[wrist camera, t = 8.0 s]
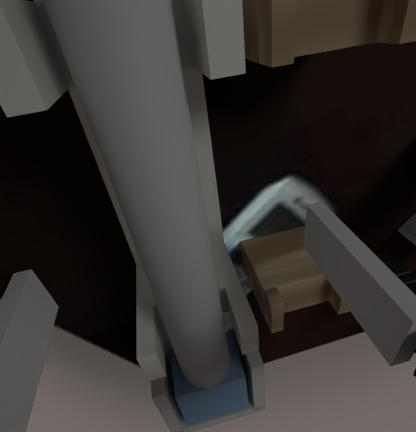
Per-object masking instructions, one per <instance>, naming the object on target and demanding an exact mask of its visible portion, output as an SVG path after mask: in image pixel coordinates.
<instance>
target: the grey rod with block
mask: <svg viewBox="0 0 416 432" xmlns="http://www.w3.org/2000/svg"><path fill="white" fill-rule="evenodd" d="M43 1H44V4H45V6H46V9H47V12H48V14H49V17H50V20H51V22H52V25H53V28H54V31H55V33H56V36H57V39H58V41H59V44H60V47H61V49H62V52H63V55H64V57H65V60H66V63H67V65H68V68H69V71H70V73H71V76H72V79H73V81H74V84H75V87H76V89H77V92H78V95H79V97H80V100H81V103H82V106H83V108H84V111H85V114H86V116H87V119H88V122H89V124H90V127H91V130H92V132H93V135H94V138H95V140H96V143H97V146H98V148H99V151H100V154H101V156H102V159H103V162H104V164H105V167H106V170H107V173H108V175H109V178H110V181H111V183H112V186H113V189H114V191H115V194H116V197H117V199H118V202H119V205H120V207H121V210H122V213H123V215H124V218H125V221H126V223H127V226H128V229H129V231H130V234H131V237H132V240H133V242H134V245H135V248H136V250H137V253H138V256H139V258H140V261H141V264H142V266H143V269H144V272H145V274H146V277H147V280H148V282H149V285H150V288H151V290H152V293H153V296H154V298H155V301H156V304H157V306H158V309H159V312H160V315H161V317H162V320H163V323H164V325H165V328H166V331H167V333H168V336H169V339H170V341H171V344H172V347H173V348H170V355H171V364H172V373H173V383H174V392H175V399H176V401H177V403H178V406H179V408H180V410H181V412H182V414H183V417H184V419H185V421H186V423H187V426H189V425H192V424H196V423H199V422H202V421H206V420H209V419H212V418H216V417H219V416H222V415H225V414H229V413H232V412H235V411H239V410H242V409H245V408H249V404H248V394H247V385H246V377H245V374H244V371H243V367H242V364H241V361H240V358H239V355H238V351H237V348H236V345H235V342H234V339H233V335H232V332H228V333H226V332H225V326H224V320H223V313H222V307H221V301H220V295H219V289H218V283H217V277H216V271H215V264H214V258H213V252H212V246H211V240H210V234H209V228H208V222H207V215H206V209H205V203H204V197H203V191H202V185H201V179H200V173H199V167H198V160H197V154H196V148H195V142H194V136H193V130H192V124H191V118H190V111H189V105H188V99H187V93H186V87H185V81H184V75H183V69H182V62H181V56H180V50H179V44H178V38H177V32H176V26H175V20H174V13H173V7H172V1H171V0H43Z"/></svg>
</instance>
